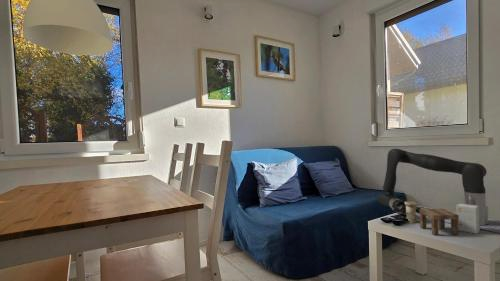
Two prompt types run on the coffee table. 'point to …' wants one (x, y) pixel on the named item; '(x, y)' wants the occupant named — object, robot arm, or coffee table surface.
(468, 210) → the small box
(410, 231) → the coffee table surface
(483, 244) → the coffee table surface
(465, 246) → the coffee table surface
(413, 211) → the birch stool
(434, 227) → the walnut footstool
